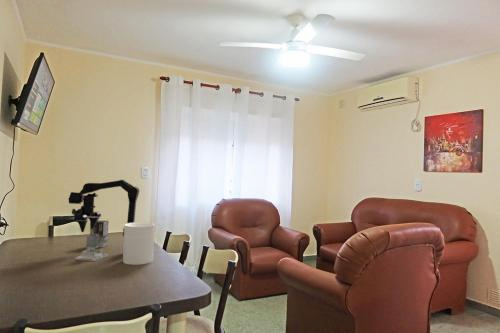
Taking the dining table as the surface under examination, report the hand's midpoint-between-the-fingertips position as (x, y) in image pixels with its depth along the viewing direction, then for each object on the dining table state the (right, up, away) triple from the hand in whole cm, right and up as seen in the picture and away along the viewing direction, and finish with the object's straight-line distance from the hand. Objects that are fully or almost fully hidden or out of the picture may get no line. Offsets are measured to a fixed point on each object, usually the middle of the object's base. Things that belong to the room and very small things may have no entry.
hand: (87, 230), depth 198 cm
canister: (+34, -14, -12) cm, 39 cm away
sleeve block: (+7, -13, -10) cm, 18 cm away
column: (+8, -8, -10) cm, 15 cm away
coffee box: (-1, -14, +17) cm, 22 cm away
